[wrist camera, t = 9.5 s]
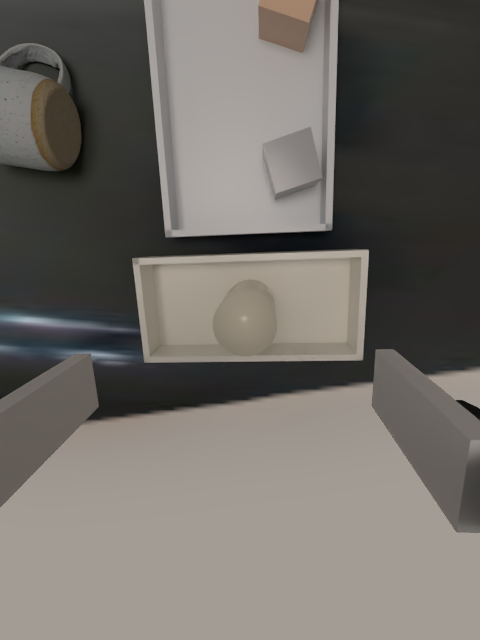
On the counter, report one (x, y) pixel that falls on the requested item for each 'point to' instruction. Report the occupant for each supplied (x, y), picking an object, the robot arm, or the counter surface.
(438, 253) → the counter surface
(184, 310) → the bin
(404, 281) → the counter surface
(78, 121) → the ceramic mug
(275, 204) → the tray
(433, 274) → the counter surface
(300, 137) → the gray cube
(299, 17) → the orange cube
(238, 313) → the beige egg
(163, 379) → the counter surface
